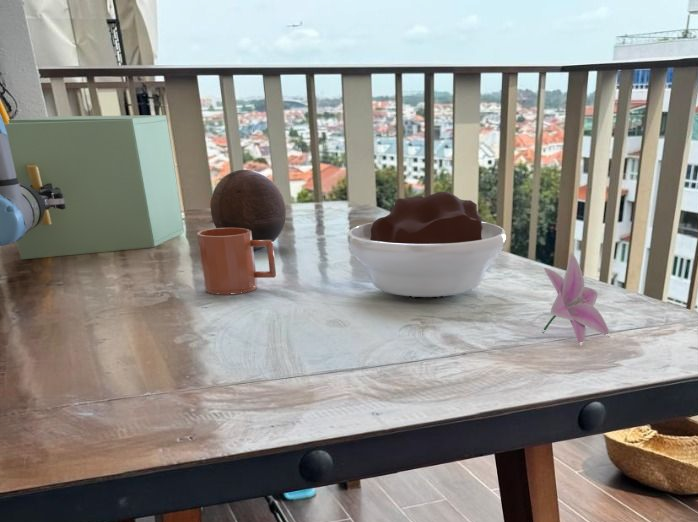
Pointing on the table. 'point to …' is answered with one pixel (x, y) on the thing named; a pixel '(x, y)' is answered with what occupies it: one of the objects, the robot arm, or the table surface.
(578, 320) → the lily
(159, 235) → the cupboard
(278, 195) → the wooden sphere
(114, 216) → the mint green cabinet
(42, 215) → the robot arm
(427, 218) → the filled white bowl
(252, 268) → the mug
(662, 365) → the table surface
